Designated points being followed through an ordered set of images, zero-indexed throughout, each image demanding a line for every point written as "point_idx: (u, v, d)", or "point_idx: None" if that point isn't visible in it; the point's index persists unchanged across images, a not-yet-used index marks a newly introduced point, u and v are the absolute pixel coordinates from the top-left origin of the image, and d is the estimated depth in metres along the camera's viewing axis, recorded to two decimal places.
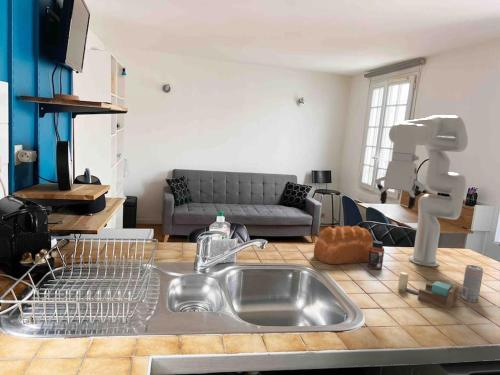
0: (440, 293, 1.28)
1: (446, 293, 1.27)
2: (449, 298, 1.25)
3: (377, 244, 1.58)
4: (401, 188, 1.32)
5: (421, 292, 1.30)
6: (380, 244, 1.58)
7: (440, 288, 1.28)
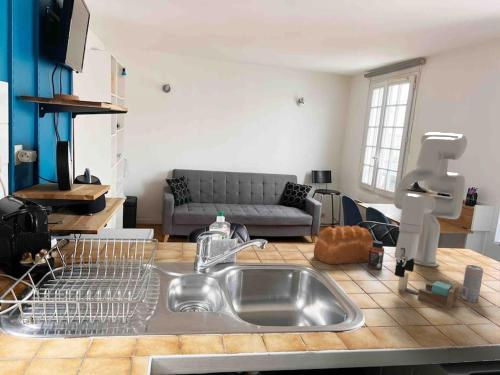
0: (440, 293, 1.28)
1: (446, 293, 1.27)
2: (449, 298, 1.25)
3: (377, 244, 1.58)
4: (413, 256, 1.37)
5: (421, 292, 1.30)
6: (380, 244, 1.58)
7: (440, 288, 1.28)
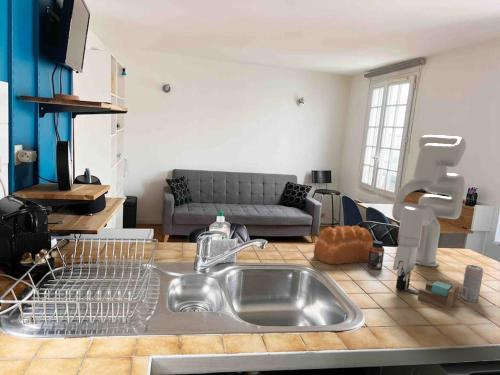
0: (440, 293, 1.28)
1: (446, 293, 1.27)
2: (449, 298, 1.25)
3: (377, 244, 1.58)
4: (412, 268, 1.38)
5: (421, 292, 1.30)
6: (380, 244, 1.58)
7: (440, 288, 1.28)
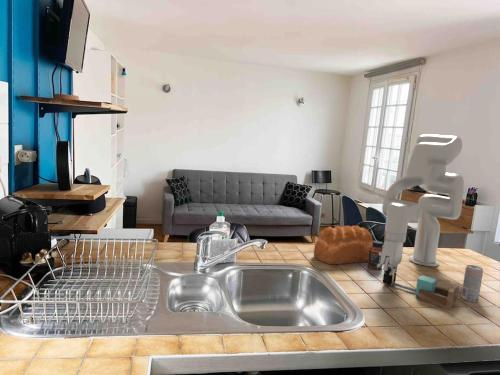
0: (425, 287, 1.32)
1: (430, 287, 1.30)
2: (449, 298, 1.25)
3: (377, 244, 1.58)
4: (398, 263, 1.41)
5: (421, 292, 1.30)
6: (380, 244, 1.58)
7: (425, 282, 1.31)
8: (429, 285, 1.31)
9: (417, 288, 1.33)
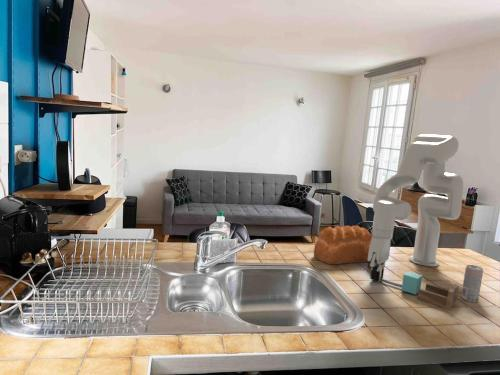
0: (410, 282, 1.35)
1: (416, 282, 1.33)
2: (449, 298, 1.25)
3: None
4: (385, 260, 1.44)
5: (421, 292, 1.30)
6: None
7: (410, 278, 1.35)
8: (414, 281, 1.34)
9: (403, 284, 1.36)
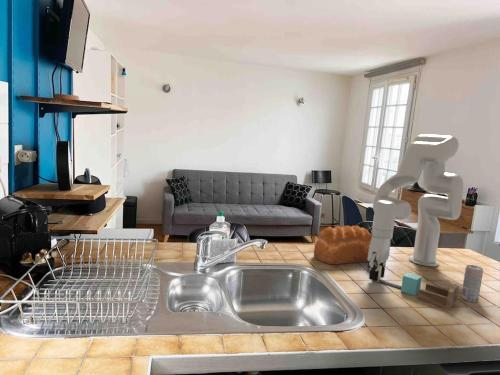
0: (410, 283, 1.35)
1: (415, 283, 1.34)
2: (449, 298, 1.25)
3: None
4: (385, 259, 1.44)
5: (421, 292, 1.30)
6: None
7: (410, 279, 1.35)
8: (414, 282, 1.34)
9: (402, 285, 1.37)
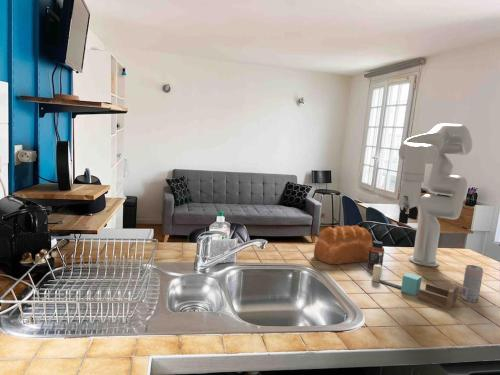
0: (410, 283, 1.35)
1: (415, 283, 1.34)
2: (449, 298, 1.25)
3: (377, 244, 1.58)
4: (416, 204, 1.44)
5: (421, 292, 1.30)
6: (380, 244, 1.58)
7: (410, 279, 1.35)
8: (414, 282, 1.34)
9: (402, 285, 1.37)
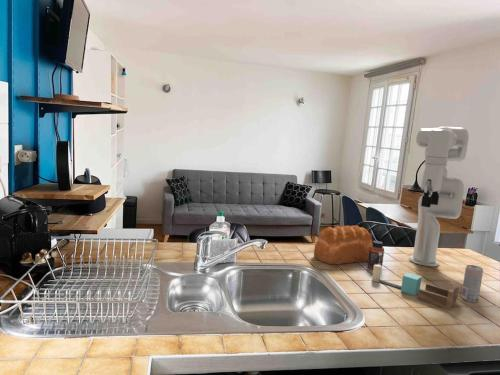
0: (410, 283, 1.35)
1: (415, 283, 1.34)
2: (449, 298, 1.25)
3: (377, 244, 1.58)
4: (438, 189, 1.45)
5: (421, 292, 1.30)
6: (380, 244, 1.58)
7: (410, 279, 1.35)
8: (414, 282, 1.34)
9: (402, 285, 1.37)
